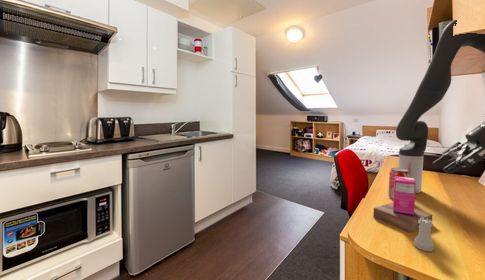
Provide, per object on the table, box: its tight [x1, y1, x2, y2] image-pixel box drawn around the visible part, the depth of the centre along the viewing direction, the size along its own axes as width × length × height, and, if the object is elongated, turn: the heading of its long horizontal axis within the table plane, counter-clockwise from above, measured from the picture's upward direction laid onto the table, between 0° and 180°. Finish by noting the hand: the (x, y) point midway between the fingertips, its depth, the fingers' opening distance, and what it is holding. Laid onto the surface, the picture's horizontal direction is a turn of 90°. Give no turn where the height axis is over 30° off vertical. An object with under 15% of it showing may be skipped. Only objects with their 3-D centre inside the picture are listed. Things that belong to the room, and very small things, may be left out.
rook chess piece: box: [413, 218, 435, 253], centre depth 61 cm, size 4×4×8 cm
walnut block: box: [373, 202, 433, 234], centre depth 76 cm, size 12×12×4 cm
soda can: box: [388, 167, 410, 200], centre depth 96 cm, size 7×7×13 cm
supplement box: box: [392, 176, 416, 216], centre depth 75 cm, size 6×6×12 cm
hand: (439, 168), depth 71 cm, fingers open, 8 cm apart
